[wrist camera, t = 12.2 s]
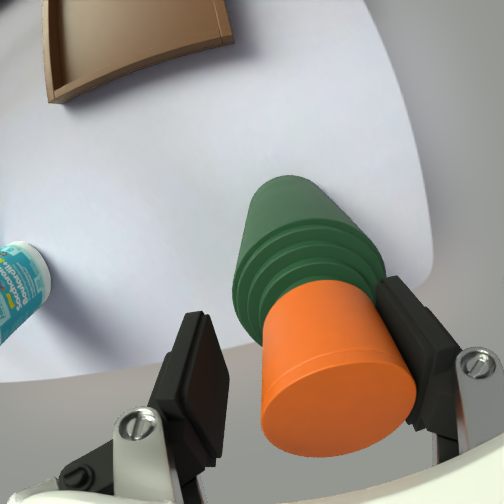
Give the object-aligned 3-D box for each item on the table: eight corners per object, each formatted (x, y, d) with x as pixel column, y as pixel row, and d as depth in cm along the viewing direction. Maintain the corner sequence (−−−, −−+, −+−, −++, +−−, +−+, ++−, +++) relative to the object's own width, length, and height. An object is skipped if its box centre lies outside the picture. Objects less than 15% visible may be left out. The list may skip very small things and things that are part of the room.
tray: (206, -70, 14) (203, -81, 12) (234, 43, 19) (232, 35, 17) (53, -9, 15) (42, -15, 14) (60, 104, 20) (48, 103, 18)
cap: (288, 385, 11) (293, 469, 7) (240, 309, 10) (228, 399, 6) (386, 347, 10) (421, 425, 6) (357, 258, 9) (406, 332, 5)
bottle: (323, 169, 22) (466, 264, 5) (334, 246, 24) (427, 432, 8) (240, 183, 23) (174, 318, 6) (257, 260, 25) (242, 467, 8)
